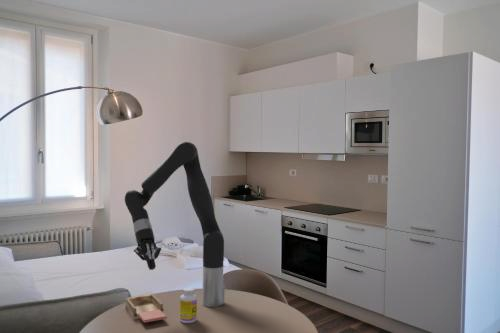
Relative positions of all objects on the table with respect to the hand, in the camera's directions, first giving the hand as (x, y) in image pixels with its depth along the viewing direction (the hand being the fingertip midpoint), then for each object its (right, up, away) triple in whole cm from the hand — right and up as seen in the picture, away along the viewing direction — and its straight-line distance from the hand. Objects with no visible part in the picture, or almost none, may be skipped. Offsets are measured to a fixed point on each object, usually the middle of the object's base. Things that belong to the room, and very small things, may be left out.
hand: (152, 268), depth 164 cm
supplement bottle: (+15, -20, -4) cm, 26 cm away
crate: (-5, -20, +5) cm, 21 cm away
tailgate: (-1, -18, -1) cm, 18 cm away
